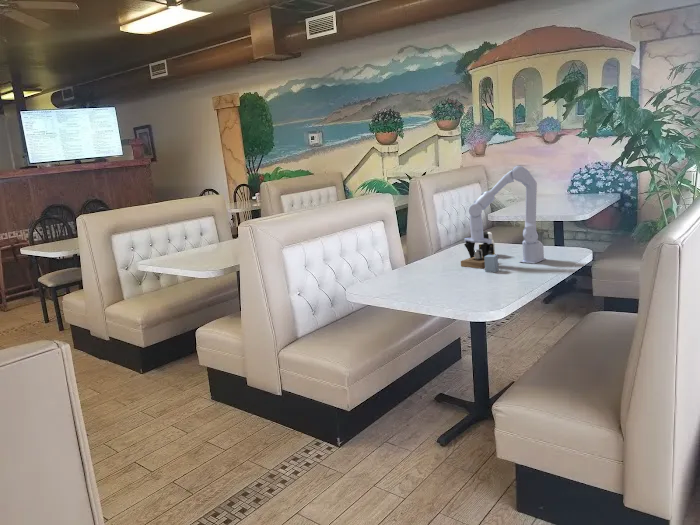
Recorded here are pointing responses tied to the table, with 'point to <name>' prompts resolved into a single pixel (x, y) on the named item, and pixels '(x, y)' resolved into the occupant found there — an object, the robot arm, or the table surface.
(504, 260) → the table surface
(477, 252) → the round peg
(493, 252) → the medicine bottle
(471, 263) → the bore block
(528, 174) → the robot arm
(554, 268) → the table surface
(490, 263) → the square peg
